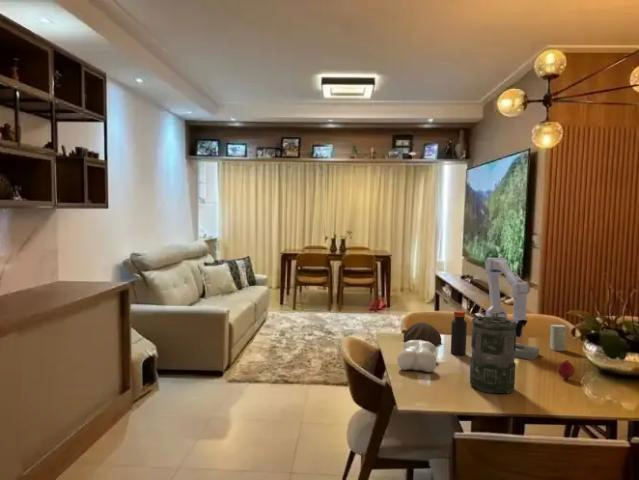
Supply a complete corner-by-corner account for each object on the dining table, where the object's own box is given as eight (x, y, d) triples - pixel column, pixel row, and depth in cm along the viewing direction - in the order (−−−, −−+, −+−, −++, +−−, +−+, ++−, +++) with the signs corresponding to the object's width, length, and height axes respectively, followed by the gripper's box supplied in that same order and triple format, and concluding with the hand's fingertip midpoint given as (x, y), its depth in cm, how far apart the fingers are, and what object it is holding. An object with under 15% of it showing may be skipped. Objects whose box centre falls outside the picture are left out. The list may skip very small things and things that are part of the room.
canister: (509, 398, 170) (512, 319, 169) (464, 389, 179) (467, 314, 178) (517, 385, 184) (520, 312, 183) (475, 377, 192) (478, 308, 191)
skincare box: (562, 348, 241) (563, 324, 240) (565, 351, 236) (566, 326, 236) (549, 348, 241) (550, 324, 241) (552, 350, 237) (553, 326, 236)
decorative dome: (398, 337, 258) (399, 318, 258) (435, 337, 260) (435, 319, 259) (407, 346, 239) (408, 326, 239) (446, 346, 240) (447, 326, 240)
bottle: (449, 354, 225) (451, 312, 224) (451, 351, 231) (453, 309, 231) (464, 356, 223) (466, 313, 222) (466, 352, 229) (467, 311, 228)
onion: (567, 382, 189) (568, 362, 189) (554, 377, 194) (555, 358, 194) (577, 380, 192) (577, 360, 192) (563, 376, 197) (564, 356, 197)
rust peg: (514, 342, 228) (515, 325, 228) (516, 340, 231) (517, 324, 231) (521, 343, 226) (522, 326, 226) (523, 342, 229) (524, 325, 229)
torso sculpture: (435, 381, 194) (437, 353, 222) (436, 355, 192) (438, 331, 221) (396, 376, 198) (402, 350, 226) (396, 352, 196) (403, 328, 225)
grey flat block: (496, 353, 229) (497, 346, 229) (504, 348, 239) (504, 342, 238) (532, 360, 219) (533, 353, 219) (538, 354, 229) (539, 347, 229)
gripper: (524, 310, 220) (523, 340, 220) (532, 306, 232) (531, 334, 232) (508, 308, 224) (507, 337, 225) (517, 304, 236) (516, 332, 236)
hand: (518, 335), depth 229 cm, fingers closed on rust peg, 3 cm apart
